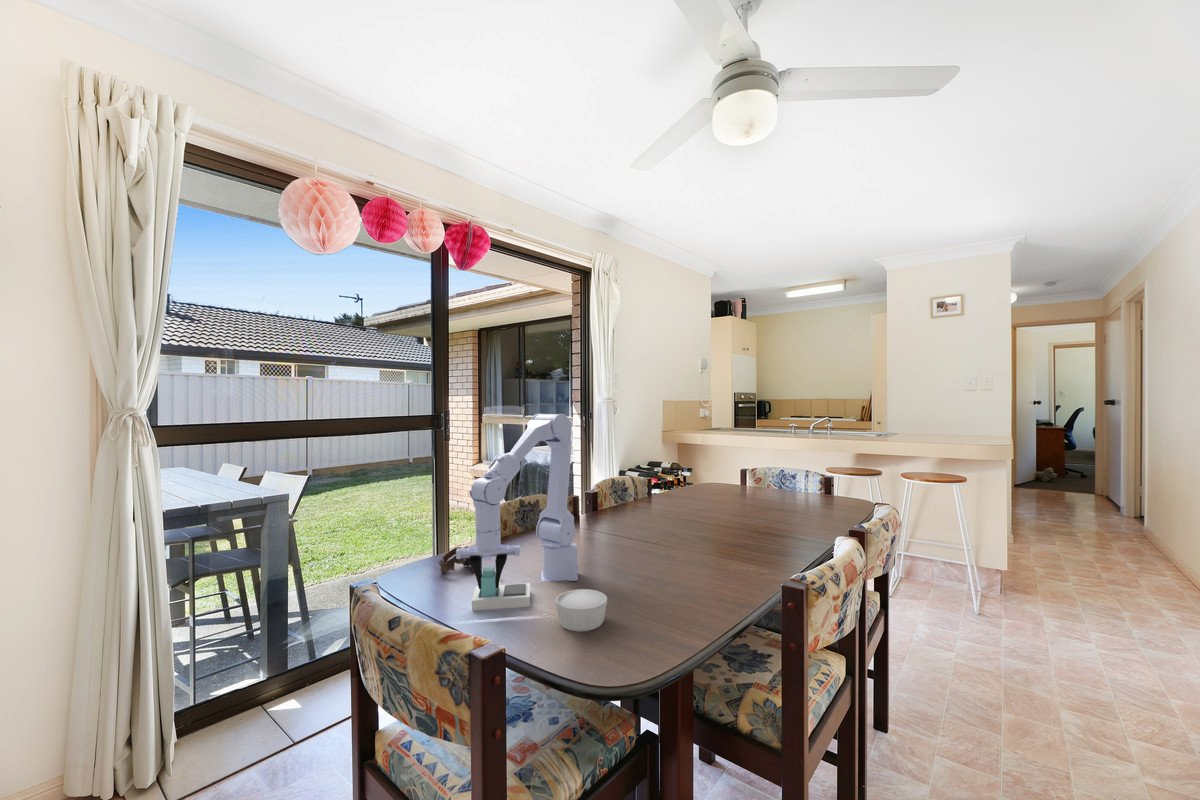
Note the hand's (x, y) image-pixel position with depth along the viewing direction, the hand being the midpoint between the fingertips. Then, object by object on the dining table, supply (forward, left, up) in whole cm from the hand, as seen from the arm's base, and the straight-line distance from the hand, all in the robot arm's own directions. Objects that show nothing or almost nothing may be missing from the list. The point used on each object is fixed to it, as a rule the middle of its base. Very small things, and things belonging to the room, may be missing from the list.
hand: (488, 587), depth 119 cm
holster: (0, -11, -4) cm, 12 cm away
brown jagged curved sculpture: (+9, -24, -4) cm, 26 cm away
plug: (0, 0, -2) cm, 2 cm away
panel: (-3, 0, -4) cm, 5 cm away
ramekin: (-21, +13, -4) cm, 25 cm away
